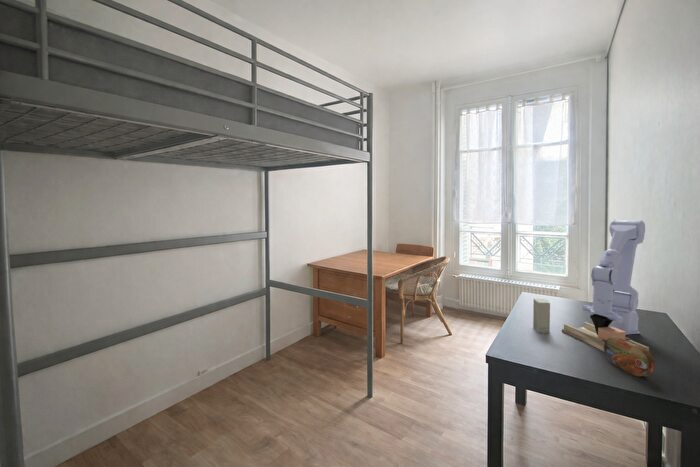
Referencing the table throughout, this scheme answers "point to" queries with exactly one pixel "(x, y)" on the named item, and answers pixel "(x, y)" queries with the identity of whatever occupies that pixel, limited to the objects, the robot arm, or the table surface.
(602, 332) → the block
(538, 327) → the skincare box
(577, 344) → the table surface
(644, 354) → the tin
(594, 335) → the chute
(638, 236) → the robot arm
